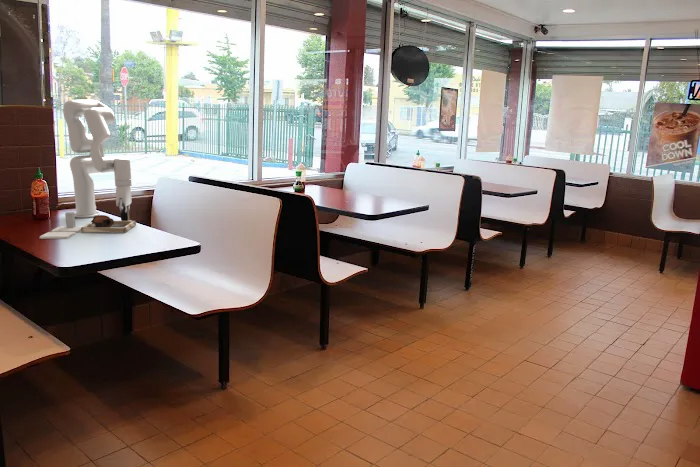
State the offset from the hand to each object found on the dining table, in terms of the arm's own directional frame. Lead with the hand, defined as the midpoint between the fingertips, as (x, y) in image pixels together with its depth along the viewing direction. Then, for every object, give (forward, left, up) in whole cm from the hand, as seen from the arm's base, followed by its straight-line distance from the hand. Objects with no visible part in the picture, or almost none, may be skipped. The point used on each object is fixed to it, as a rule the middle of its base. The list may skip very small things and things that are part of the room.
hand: (125, 219), depth 297 cm
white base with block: (+22, -22, -2) cm, 31 cm away
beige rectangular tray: (+9, -4, -2) cm, 10 cm away
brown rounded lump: (+15, -6, -3) cm, 16 cm away
